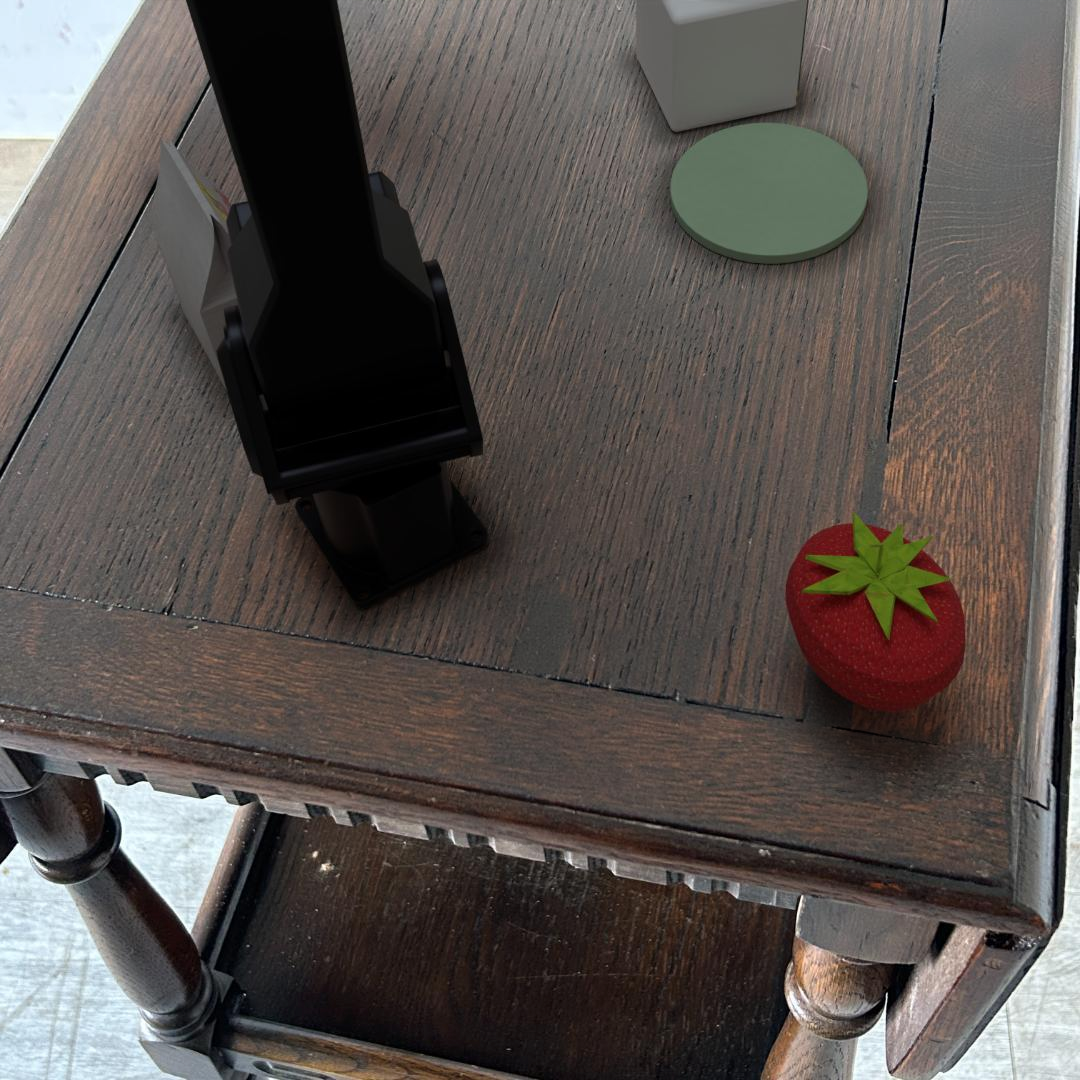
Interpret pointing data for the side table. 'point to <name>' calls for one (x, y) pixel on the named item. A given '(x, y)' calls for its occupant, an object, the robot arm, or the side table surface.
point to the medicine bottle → (720, 57)
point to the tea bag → (194, 246)
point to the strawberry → (875, 616)
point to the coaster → (768, 193)
